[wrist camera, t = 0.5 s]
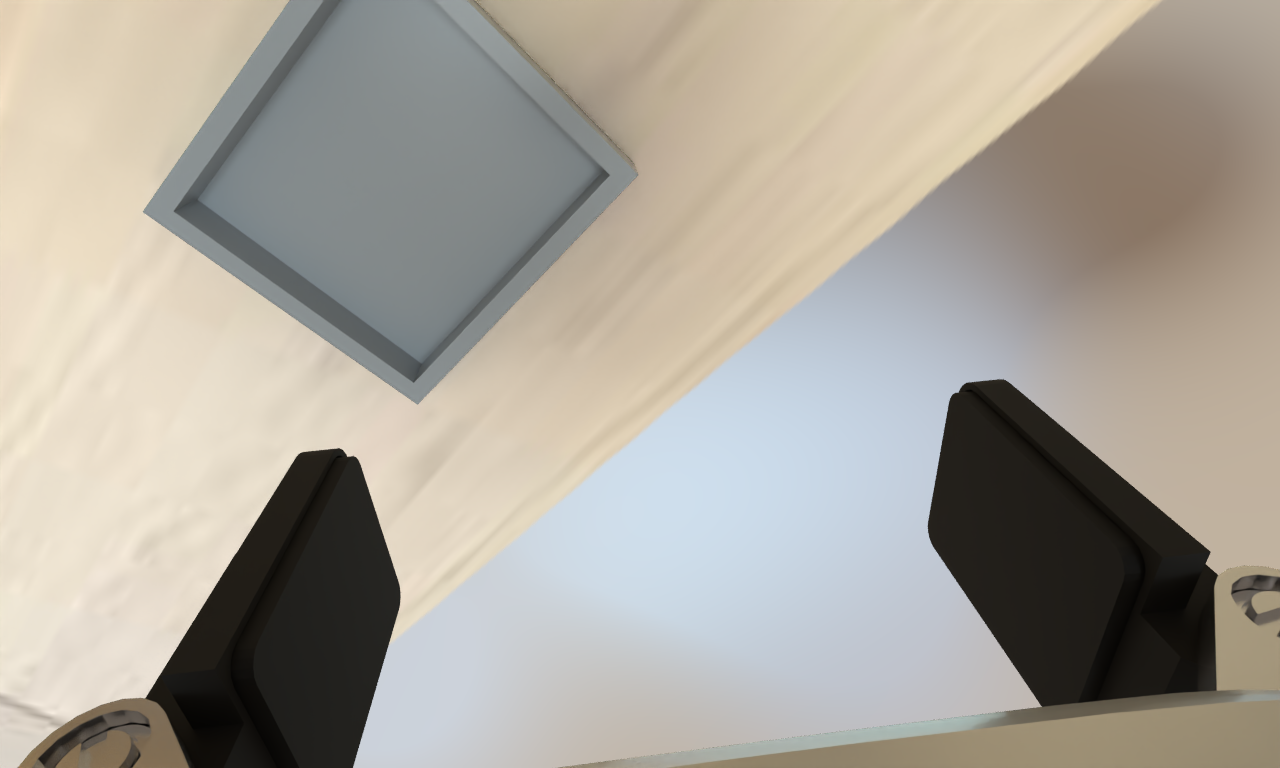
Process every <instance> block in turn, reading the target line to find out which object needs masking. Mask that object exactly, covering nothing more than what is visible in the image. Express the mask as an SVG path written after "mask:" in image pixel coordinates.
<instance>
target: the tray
mask: <svg viewBox="0 0 1280 768" xmlns="http://www.w3.org/2000/svg"><path fill="white" fill-rule="evenodd" d="M637 176H638V173H637V170H636V168H635V165H634V163H633V162H632V161H631V160H630V159H629V158H628V157H627V156H626V155H625V154H624V153H623V152H622V151H621V150H620V149H619V148H618V147H617V146H616V145H615V144H614V143H613V142H612V141H611V140H610V139H609V138H608V137H607V135H606V134H605V133H604V132H603V131H602V130H601V129H600V128H599V127H598V126H597V125H596V124H595V123H594V122H593V121H592V120H591V119H590V118H589V117H588V116H587V115H586V114H585V113H584V112H583V111H582V110H581V109H580V108H579V107H578V106H577V105H576V104H575V103H574V102H573V101H572V100H571V99H570V98H569V97H568V96H567V95H566V94H565V93H564V91H563V90H562V89H561V88H560V87H559V86H558V85H557V84H556V83H555V82H554V81H553V80H552V79H551V78H550V77H549V76H548V75H547V74H546V73H545V72H544V71H543V70H542V69H541V68H540V67H539V66H538V65H537V64H536V63H535V62H534V61H533V60H532V59H531V58H530V57H529V56H528V55H527V54H526V53H525V52H524V51H523V50H522V49H521V47H520V46H519V45H518V44H517V43H516V42H515V41H514V40H513V39H512V38H511V37H510V36H509V35H508V34H507V33H506V32H505V31H504V30H503V29H502V28H501V27H500V26H499V25H498V24H497V23H496V22H495V21H494V20H493V19H492V18H491V17H490V16H489V15H488V14H487V13H486V12H485V11H484V10H483V9H482V8H481V7H480V6H479V5H478V3H477V2H476V1H475V0H290V1H289V2H288V4H287V5H286V7H285V8H284V9H283V11H282V12H281V14H280V15H279V17H278V18H277V19H276V21H275V22H274V24H273V25H272V27H271V28H270V30H269V31H268V32H267V34H266V35H265V37H264V38H263V40H262V41H261V42H260V44H259V45H258V47H257V48H256V50H255V51H254V53H253V54H252V55H251V57H250V58H249V60H248V61H247V63H246V64H245V65H244V67H243V68H242V70H241V71H240V73H239V74H238V76H237V77H236V78H235V80H234V81H233V83H232V84H231V86H230V87H229V88H228V90H227V91H226V93H225V94H224V96H223V97H222V99H221V100H220V101H219V103H218V104H217V106H216V107H215V109H214V110H213V111H212V113H211V114H210V116H209V117H208V119H207V120H206V122H205V123H204V124H203V126H202V127H201V129H200V130H199V132H198V133H197V134H196V136H195V137H194V139H193V140H192V142H191V143H190V145H189V146H188V147H187V149H186V150H185V152H184V153H183V155H182V156H181V158H180V159H179V160H178V162H177V163H176V165H175V166H174V168H173V169H172V170H171V172H170V173H169V175H168V176H167V178H166V179H165V181H164V182H163V183H162V185H161V186H160V188H159V189H158V191H157V192H156V193H155V195H154V196H153V198H152V199H151V201H150V202H149V204H148V205H147V206H146V208H145V209H144V211H143V212H144V213H145V214H146V215H148V216H149V217H151V218H152V219H154V220H155V221H156V222H158V223H159V224H161V225H162V226H164V227H165V228H166V229H168V230H169V231H171V232H172V233H173V234H175V235H176V236H178V237H179V238H181V239H182V240H183V241H185V242H186V243H188V244H189V245H191V246H192V247H193V248H195V249H196V250H198V251H199V252H201V253H202V254H203V255H205V256H206V257H208V258H209V259H211V260H212V261H213V262H215V263H216V264H218V265H219V266H221V267H222V268H223V269H225V270H226V271H228V272H229V273H231V274H232V275H233V276H235V277H236V278H238V279H239V280H241V281H242V282H243V283H245V284H246V285H248V286H249V287H251V288H252V289H253V290H255V291H256V292H258V293H259V294H261V295H262V296H263V297H265V298H266V299H268V300H269V301H271V302H272V303H273V304H275V305H276V306H278V307H279V308H280V309H282V310H283V311H285V312H286V313H288V314H289V315H290V316H292V317H293V318H295V319H296V320H298V321H299V322H300V323H302V324H303V325H305V326H306V327H308V328H309V329H310V330H312V331H313V332H315V333H316V334H318V335H319V336H320V337H322V338H323V339H325V340H326V341H328V342H329V343H330V344H332V345H333V346H335V347H336V348H338V349H339V350H340V351H342V352H343V353H345V354H346V355H348V356H349V357H350V358H352V359H353V360H355V361H356V362H358V363H359V364H360V365H362V366H363V367H365V368H366V369H368V370H369V371H370V372H372V373H373V374H375V375H376V376H377V377H379V378H380V379H382V380H383V381H385V382H386V383H387V384H389V385H390V386H392V387H393V388H395V389H396V390H397V391H399V392H400V393H402V394H403V395H405V396H406V397H407V398H409V399H410V400H412V401H413V402H415V403H416V404H417V405H418V404H419V403H420V402H421V401H422V400H423V398H424V397H425V396H426V395H427V394H428V393H429V392H430V391H431V390H432V389H433V388H434V387H435V386H436V385H437V384H438V383H439V382H440V381H441V380H442V379H443V378H444V377H445V376H446V375H447V374H448V372H449V371H450V370H451V369H452V368H453V367H454V366H455V365H456V364H457V363H458V362H459V361H460V360H461V359H462V358H463V357H464V356H465V355H466V354H467V353H468V352H469V351H470V350H471V349H472V347H473V346H474V345H475V344H476V343H477V342H478V341H479V340H480V339H481V338H482V337H483V336H484V335H485V334H486V333H487V332H488V331H489V330H490V329H491V328H492V327H493V326H494V325H495V324H496V323H497V321H498V320H499V319H500V318H501V317H502V316H503V315H504V314H505V313H506V312H507V311H508V310H509V309H510V308H511V307H512V306H513V305H514V304H515V303H516V302H517V301H518V300H519V299H520V298H521V296H522V295H523V294H524V293H525V292H526V291H527V290H528V289H529V288H530V287H531V286H532V285H533V284H534V283H535V282H536V281H537V280H538V279H539V278H540V277H541V276H542V275H543V274H544V273H545V272H546V270H547V269H548V268H549V267H550V266H551V265H552V264H553V263H554V262H555V261H556V260H557V259H558V258H559V257H560V256H561V255H562V254H563V253H564V252H565V251H566V250H567V249H568V248H569V247H570V246H571V244H572V243H573V242H574V241H575V240H576V239H577V238H578V237H579V236H580V235H581V234H582V233H583V232H584V231H585V230H586V229H587V228H588V227H589V226H590V225H591V224H592V223H593V222H594V221H595V219H596V218H597V217H598V216H599V215H600V214H601V213H602V212H603V211H604V210H605V209H606V208H607V207H608V206H609V205H610V204H611V203H612V202H613V201H614V200H615V199H616V198H617V197H618V196H619V195H620V193H621V192H622V191H623V190H624V189H625V188H626V187H627V186H628V185H629V184H630V183H631V182H632V181H633V180H634V179H635V178H636V177H637Z"/></svg>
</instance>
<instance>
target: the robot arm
mask: <svg viewBox="0 0 1280 768" xmlns="http://www.w3.org/2000/svg"><path fill="white" fill-rule="evenodd" d="M928 533H929V538H930V540H931V543H932V545H933V547H934V549H935V550H936V551H937V553H938V554H939V556H940V557H941V559H942V560H943V562H944V563H945V565H946V566H947V568H948V569H949V570H950V572H951V574H952V575H953V576H954V578H955V579H956V581H957V582H958V584H959V585H960V587H961V588H962V590H963V591H964V592H965V594H966V596H967V597H968V599H969V600H970V601H971V603H972V604H973V606H974V607H975V609H976V610H977V612H978V613H979V614H980V616H981V618H982V619H983V621H984V622H985V624H986V625H987V626H988V628H989V629H990V631H991V632H992V634H993V635H994V637H995V638H996V640H997V641H998V643H999V644H1000V646H1001V647H1002V649H1003V650H1004V651H1005V653H1006V655H1007V656H1008V657H1009V659H1010V660H1011V662H1012V663H1013V665H1014V666H1015V668H1016V669H1017V671H1018V672H1019V674H1020V675H1021V676H1022V678H1023V679H1024V681H1025V682H1026V684H1027V685H1028V687H1029V688H1030V690H1031V691H1032V693H1033V694H1034V696H1035V697H1036V699H1037V700H1038V702H1039V703H1040V705H1041V706H1042V707H1038V708H1030V709H1021V710H1013V711H1005V712H996V713H988V714H980V715H972V716H963V717H955V718H947V719H938V720H931V721H922V722H914V723H905V724H898V725H889V726H881V727H873V728H864V729H856V730H849V731H840V732H832V733H825V734H816V735H809V736H800V737H792V738H785V739H778V740H769V741H761V742H753V743H746V744H737V745H729V746H721V747H713V748H706V749H698V750H690V751H682V752H674V753H666V754H659V755H651V756H643V757H635V758H627V759H620V760H612V761H605V762H598V763H590V764H582V765H575V766H567V767H560V768H1280V570H1278V569H1274V568H1269V567H1263V566H1240V567H1235V568H1230V569H1227V570H1226V571H1224V572H1223V573H1221V574H1220V575H1217V574H1216V573H1215V572H1214V571H1213V570H1212V569H1210V568H1209V567H1208V566H1207V565H1206V561H1207V559H1208V557H1209V555H1210V551H1209V550H1208V549H1207V548H1205V547H1204V546H1203V545H1202V544H1201V543H1199V542H1198V541H1197V540H1196V539H1195V538H1193V537H1192V536H1191V535H1190V534H1189V533H1187V532H1186V531H1185V530H1184V529H1183V528H1182V527H1180V526H1179V525H1178V524H1177V523H1175V522H1174V521H1173V520H1172V519H1171V518H1170V517H1168V516H1167V515H1166V514H1165V513H1164V512H1163V511H1161V510H1160V509H1159V508H1158V507H1157V506H1155V505H1154V504H1153V503H1152V502H1151V501H1149V500H1148V499H1147V498H1146V497H1145V496H1143V495H1142V494H1141V493H1140V492H1139V491H1138V490H1136V489H1135V488H1134V487H1133V486H1132V485H1130V484H1129V483H1128V482H1127V481H1126V480H1124V479H1123V478H1122V477H1121V476H1120V475H1119V474H1117V473H1116V472H1115V471H1114V470H1113V469H1111V468H1110V467H1109V466H1108V465H1107V464H1105V463H1104V462H1103V461H1102V460H1101V459H1099V458H1098V457H1097V456H1096V455H1095V454H1093V453H1092V452H1091V451H1090V450H1089V449H1088V448H1086V447H1085V446H1084V445H1083V444H1082V443H1080V442H1079V441H1078V440H1077V439H1076V438H1075V437H1073V436H1072V435H1071V434H1070V433H1069V432H1067V431H1066V430H1065V429H1064V428H1063V427H1061V426H1060V425H1059V424H1058V423H1057V422H1055V421H1054V420H1053V419H1052V418H1051V417H1049V416H1048V415H1047V414H1046V413H1045V412H1044V411H1042V410H1041V409H1040V408H1039V407H1038V406H1036V405H1035V404H1034V403H1033V402H1032V401H1031V400H1029V399H1028V398H1027V397H1026V396H1025V395H1023V394H1022V393H1021V392H1020V391H1019V390H1017V389H1016V388H1015V387H1014V386H1013V385H1011V384H1010V383H1009V382H1007V381H1006V380H999V379H998V380H989V381H980V382H971V383H966V384H964V385H963V386H962V387H961V389H960V391H959V393H955V394H953V395H952V396H951V398H950V401H949V406H948V412H947V418H946V423H945V429H944V435H943V440H942V446H941V452H940V458H939V463H938V469H937V475H936V481H935V487H934V492H933V497H932V503H931V510H930V515H929V521H928ZM399 606H400V586H399V582H398V579H397V576H396V573H395V570H394V567H393V564H392V560H391V557H390V554H389V551H388V548H387V545H386V542H385V539H384V536H383V533H382V530H381V527H380V524H379V521H378V517H377V514H376V511H375V508H374V505H373V502H372V499H371V496H370V493H369V490H368V487H367V484H366V481H365V478H364V474H363V471H362V468H361V465H360V463H359V461H358V459H357V458H356V457H354V456H351V457H347V455H346V454H345V452H344V451H343V450H342V449H339V448H338V449H328V450H319V451H309V452H302V453H300V454H299V455H298V456H297V457H296V459H295V460H294V462H293V463H292V465H291V467H290V468H289V470H288V471H287V473H286V475H285V476H284V478H283V479H282V481H281V483H280V484H279V486H278V487H277V489H276V491H275V492H274V494H273V495H272V497H271V499H270V500H269V502H268V503H267V505H266V507H265V508H264V510H263V511H262V513H261V515H260V516H259V518H258V520H257V521H256V523H255V524H254V526H253V528H252V529H251V531H250V532H249V534H248V536H247V537H246V539H245V540H244V542H243V544H242V545H241V547H240V548H239V550H238V552H237V553H236V554H235V556H234V557H233V559H232V560H231V562H230V564H229V565H228V567H227V569H226V570H225V572H224V573H223V575H222V577H221V578H220V580H219V581H218V583H217V585H216V586H215V588H214V589H213V591H212V593H211V594H210V596H209V597H208V599H207V601H206V602H205V604H204V605H203V607H202V609H201V610H200V612H199V613H198V615H197V617H196V618H195V620H194V621H193V623H192V625H191V626H190V628H189V629H188V631H187V633H186V634H185V636H184V637H183V639H182V641H181V642H180V644H179V645H178V647H177V649H176V650H175V652H174V653H173V655H172V657H171V658H170V660H169V661H168V663H167V665H166V666H165V668H164V669H163V671H162V673H161V674H160V676H159V677H158V679H157V681H156V682H155V684H154V685H153V687H152V689H151V690H150V692H149V693H148V695H147V697H146V698H145V699H144V698H132V699H121V700H118V701H114V702H110V703H107V704H103V705H100V706H98V707H96V708H94V709H92V710H90V711H87V712H85V713H83V714H81V715H79V716H77V717H75V718H74V719H72V720H71V721H69V722H68V723H66V724H65V725H63V726H62V727H60V728H59V729H57V730H56V731H54V732H53V733H51V734H50V735H49V736H48V737H47V738H46V739H45V740H43V741H42V742H41V743H40V744H39V745H38V746H37V747H36V748H34V749H33V750H32V751H31V752H30V753H29V755H28V756H27V757H26V758H25V760H24V761H23V762H22V763H21V764H20V766H19V767H18V768H353V765H354V762H355V758H356V755H357V751H358V748H359V744H360V741H361V738H362V734H363V731H364V727H365V724H366V721H367V717H368V713H369V710H370V707H371V703H372V700H373V697H374V693H375V690H376V686H377V682H378V679H379V676H380V672H381V669H382V666H383V662H384V659H385V655H386V652H387V648H388V645H389V642H390V638H391V635H392V631H393V628H394V624H395V621H396V618H397V614H398V611H399Z"/></svg>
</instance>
